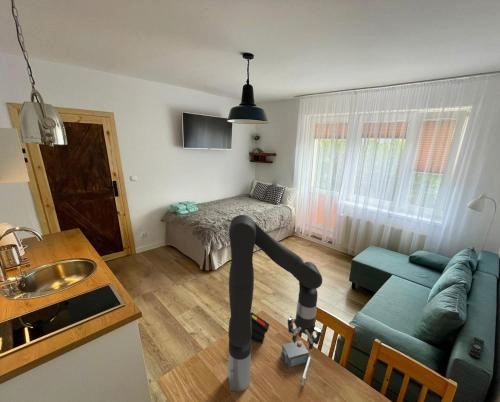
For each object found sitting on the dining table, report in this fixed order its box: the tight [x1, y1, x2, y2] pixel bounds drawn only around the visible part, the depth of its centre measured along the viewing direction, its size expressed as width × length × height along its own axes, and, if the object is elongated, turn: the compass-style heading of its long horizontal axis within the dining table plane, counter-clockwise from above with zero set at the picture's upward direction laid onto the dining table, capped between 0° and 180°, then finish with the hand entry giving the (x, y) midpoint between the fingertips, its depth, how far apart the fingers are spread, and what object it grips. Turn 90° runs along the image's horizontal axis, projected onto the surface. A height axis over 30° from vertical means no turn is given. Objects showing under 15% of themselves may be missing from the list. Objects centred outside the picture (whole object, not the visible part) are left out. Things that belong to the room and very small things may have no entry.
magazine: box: [250, 311, 270, 345], centre depth 116 cm, size 4×13×15 cm, turn 70°
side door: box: [301, 354, 312, 386], centre depth 100 cm, size 12×1×5 cm, turn 151°
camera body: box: [280, 339, 309, 368], centre depth 106 cm, size 12×7×7 cm, turn 106°
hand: (302, 344), depth 93 cm, fingers open, 5 cm apart
